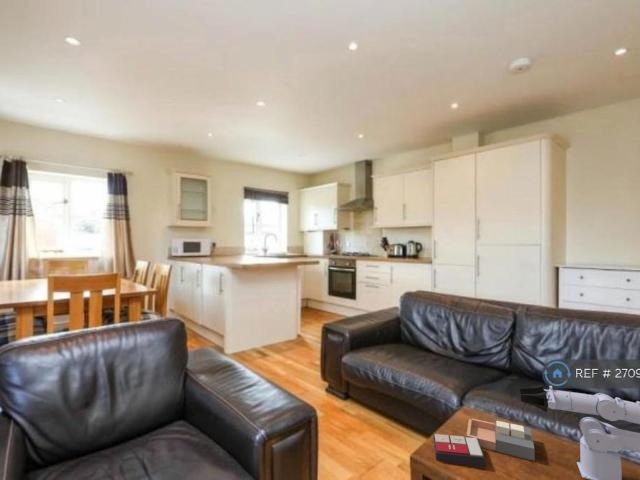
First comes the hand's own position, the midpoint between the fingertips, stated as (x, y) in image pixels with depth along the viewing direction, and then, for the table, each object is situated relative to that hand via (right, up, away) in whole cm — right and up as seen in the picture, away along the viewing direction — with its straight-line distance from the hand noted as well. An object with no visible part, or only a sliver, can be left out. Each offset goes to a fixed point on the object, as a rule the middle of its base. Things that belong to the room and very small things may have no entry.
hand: (520, 394), depth 113 cm
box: (-8, -21, +10) cm, 24 cm away
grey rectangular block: (+1, -20, +5) cm, 21 cm away
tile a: (+2, -16, +5) cm, 17 cm away
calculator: (-21, -21, 0) cm, 30 cm away
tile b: (-2, -17, +7) cm, 18 cm away
